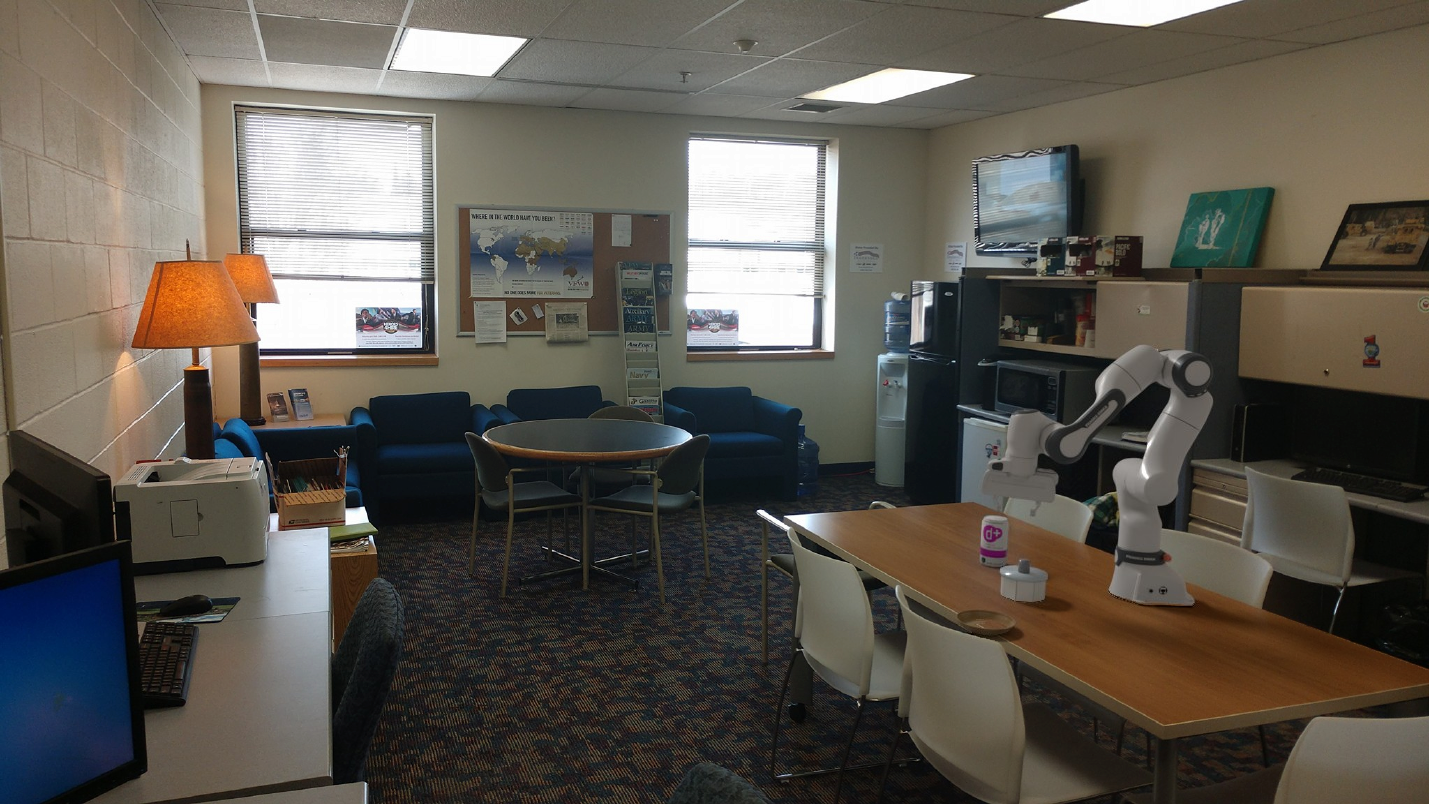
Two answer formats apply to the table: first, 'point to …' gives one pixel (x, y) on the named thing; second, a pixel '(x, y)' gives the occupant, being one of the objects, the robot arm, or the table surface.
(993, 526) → the supplement can
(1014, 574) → the lid
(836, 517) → the table surface
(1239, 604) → the table surface
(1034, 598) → the bowl
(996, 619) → the plant saucer
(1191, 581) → the table surface
